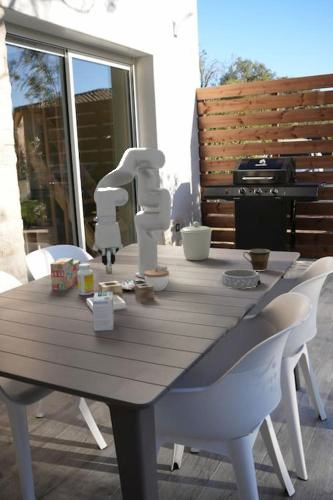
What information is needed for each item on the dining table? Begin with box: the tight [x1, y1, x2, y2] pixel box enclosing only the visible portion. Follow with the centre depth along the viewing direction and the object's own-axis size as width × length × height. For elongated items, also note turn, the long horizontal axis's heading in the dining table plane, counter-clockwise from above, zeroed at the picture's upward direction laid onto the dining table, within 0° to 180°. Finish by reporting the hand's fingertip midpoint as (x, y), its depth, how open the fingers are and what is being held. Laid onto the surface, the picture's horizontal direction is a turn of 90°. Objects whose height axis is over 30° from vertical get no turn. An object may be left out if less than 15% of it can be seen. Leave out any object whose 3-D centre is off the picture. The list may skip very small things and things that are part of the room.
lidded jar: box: [144, 268, 170, 292], centre depth 223 cm, size 11×11×9 cm
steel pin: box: [105, 248, 113, 275], centre depth 209 cm, size 3×3×12 cm
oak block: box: [97, 280, 124, 300], centre depth 212 cm, size 8×8×6 cm
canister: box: [179, 221, 213, 261], centre depth 284 cm, size 18×18×21 cm
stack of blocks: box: [49, 257, 81, 291], centre depth 236 cm, size 21×6×12 cm, turn 169°
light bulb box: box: [92, 291, 115, 332], centre depth 176 cm, size 11×7×11 cm, turn 5°
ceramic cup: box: [243, 248, 271, 270], centre depth 252 cm, size 13×10×10 cm
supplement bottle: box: [77, 263, 95, 296], centre depth 218 cm, size 7×7×13 cm
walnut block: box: [134, 282, 155, 303], centre depth 207 cm, size 6×6×6 cm
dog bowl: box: [219, 268, 262, 289], centre depth 228 cm, size 17×18×5 cm
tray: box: [85, 295, 127, 313], centre depth 199 cm, size 13×13×2 cm
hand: (108, 263), depth 209 cm, fingers closed on steel pin, 2 cm apart
